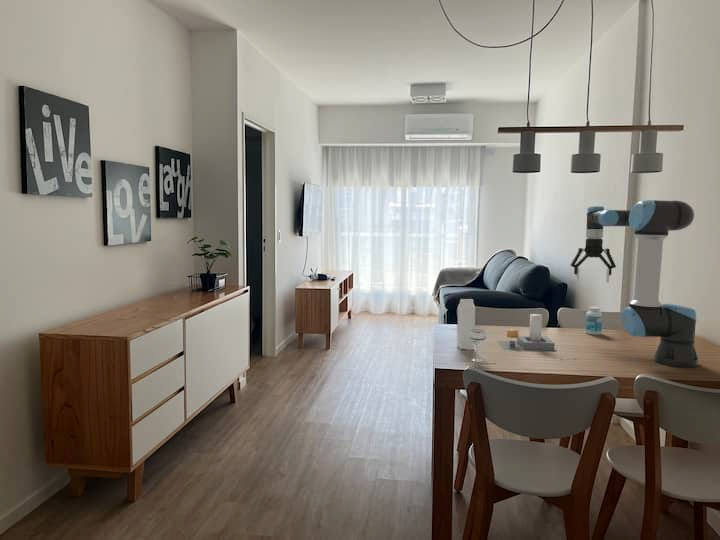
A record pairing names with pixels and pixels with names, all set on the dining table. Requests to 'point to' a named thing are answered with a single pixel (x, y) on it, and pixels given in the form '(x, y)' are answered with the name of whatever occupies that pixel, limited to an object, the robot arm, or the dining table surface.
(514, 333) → the orange rounded knob
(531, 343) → the housing
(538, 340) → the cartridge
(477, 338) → the wineglass
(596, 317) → the pill bottle
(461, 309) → the milk
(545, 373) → the dining table surface
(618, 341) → the dining table surface
